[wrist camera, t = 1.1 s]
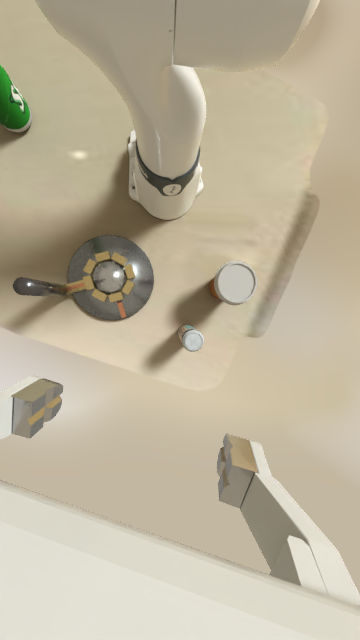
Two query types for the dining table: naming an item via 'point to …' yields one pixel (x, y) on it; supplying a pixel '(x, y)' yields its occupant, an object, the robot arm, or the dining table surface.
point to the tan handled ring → (78, 282)
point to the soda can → (12, 105)
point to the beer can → (190, 338)
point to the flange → (112, 277)
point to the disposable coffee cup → (234, 283)
